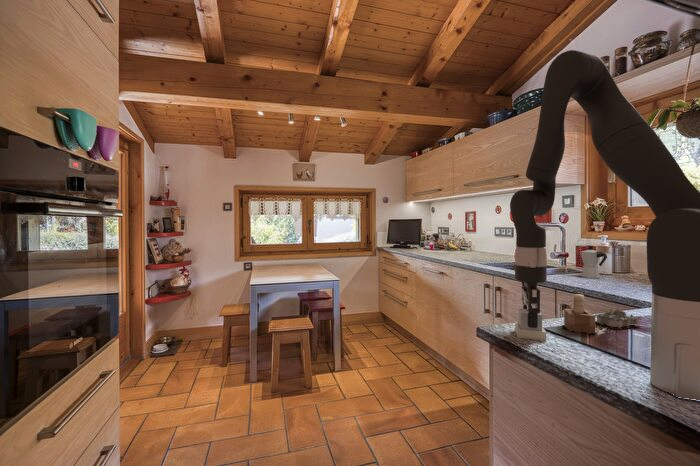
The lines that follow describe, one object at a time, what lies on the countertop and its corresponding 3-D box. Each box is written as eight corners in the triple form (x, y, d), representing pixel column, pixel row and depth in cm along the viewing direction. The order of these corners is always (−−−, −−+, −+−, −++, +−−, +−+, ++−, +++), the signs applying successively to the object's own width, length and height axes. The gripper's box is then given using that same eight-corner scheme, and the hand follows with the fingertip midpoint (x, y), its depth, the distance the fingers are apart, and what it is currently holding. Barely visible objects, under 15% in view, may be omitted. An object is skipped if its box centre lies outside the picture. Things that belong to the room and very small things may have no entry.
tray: (546, 341, 83) (546, 332, 83) (517, 338, 85) (517, 329, 85) (541, 333, 89) (541, 324, 89) (514, 330, 91) (515, 322, 91)
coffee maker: (573, 275, 185) (574, 245, 184) (584, 275, 188) (585, 244, 187) (600, 280, 171) (601, 246, 170) (612, 279, 173) (612, 246, 173)
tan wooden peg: (584, 331, 91) (584, 296, 90) (574, 330, 91) (574, 295, 91) (582, 328, 93) (582, 294, 92) (572, 327, 94) (572, 293, 93)
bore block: (595, 333, 88) (595, 316, 88) (569, 331, 90) (569, 313, 90) (588, 327, 94) (588, 310, 94) (564, 325, 96) (564, 308, 96)
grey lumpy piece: (618, 320, 102) (618, 307, 102) (644, 327, 94) (644, 313, 94) (591, 322, 99) (591, 309, 99) (615, 329, 92) (616, 315, 92)
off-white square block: (542, 337, 84) (542, 314, 84) (520, 335, 86) (520, 312, 86) (538, 331, 89) (538, 309, 88) (518, 329, 90) (518, 308, 90)
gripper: (512, 260, 94) (511, 314, 95) (518, 266, 81) (517, 329, 82) (541, 261, 92) (540, 317, 92) (552, 267, 78) (551, 332, 79)
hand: (529, 322), depth 87 cm, fingers open, 8 cm apart
